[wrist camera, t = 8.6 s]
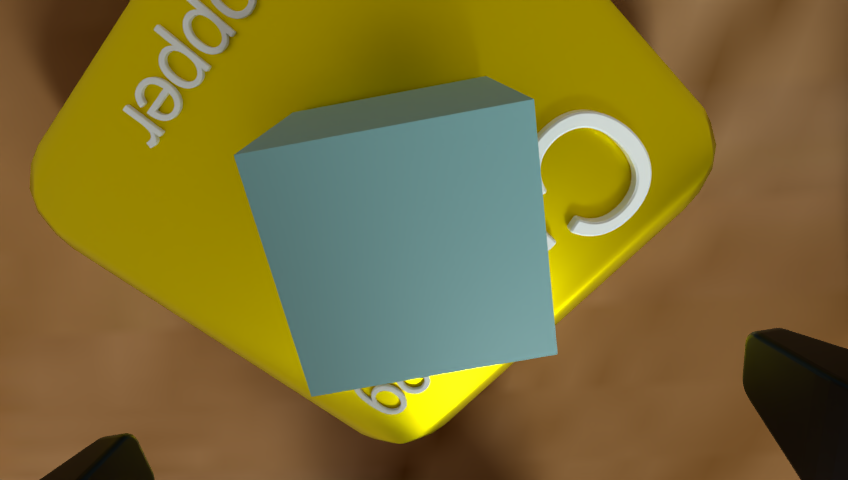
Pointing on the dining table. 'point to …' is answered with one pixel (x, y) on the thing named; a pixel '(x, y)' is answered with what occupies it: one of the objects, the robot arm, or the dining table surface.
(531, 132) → the block
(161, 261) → the element tile
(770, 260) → the dining table surface
